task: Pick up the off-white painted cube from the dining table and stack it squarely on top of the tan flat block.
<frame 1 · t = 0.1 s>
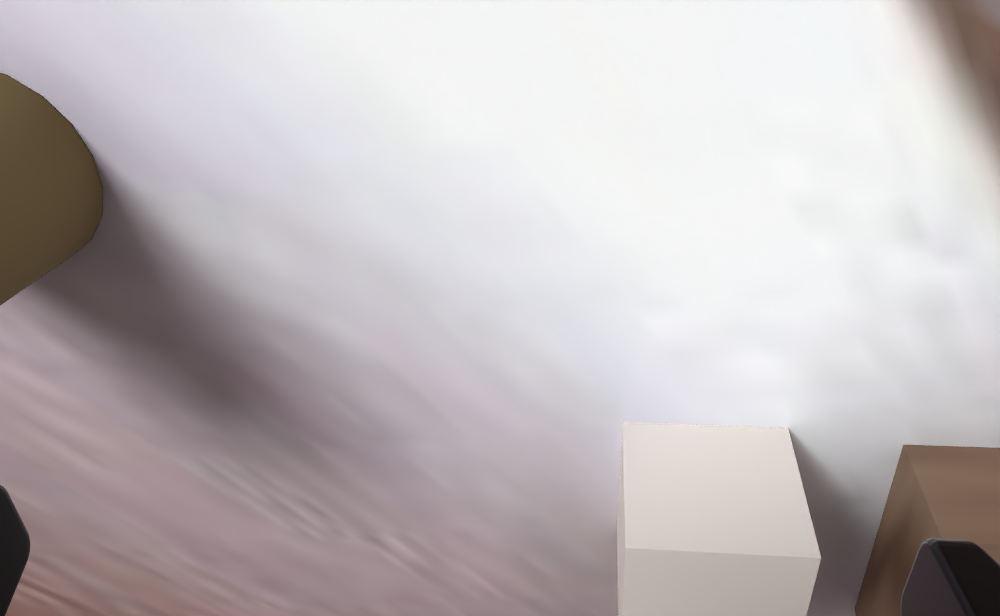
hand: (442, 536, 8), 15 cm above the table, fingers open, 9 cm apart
white cube: (697, 480, 28), on the table
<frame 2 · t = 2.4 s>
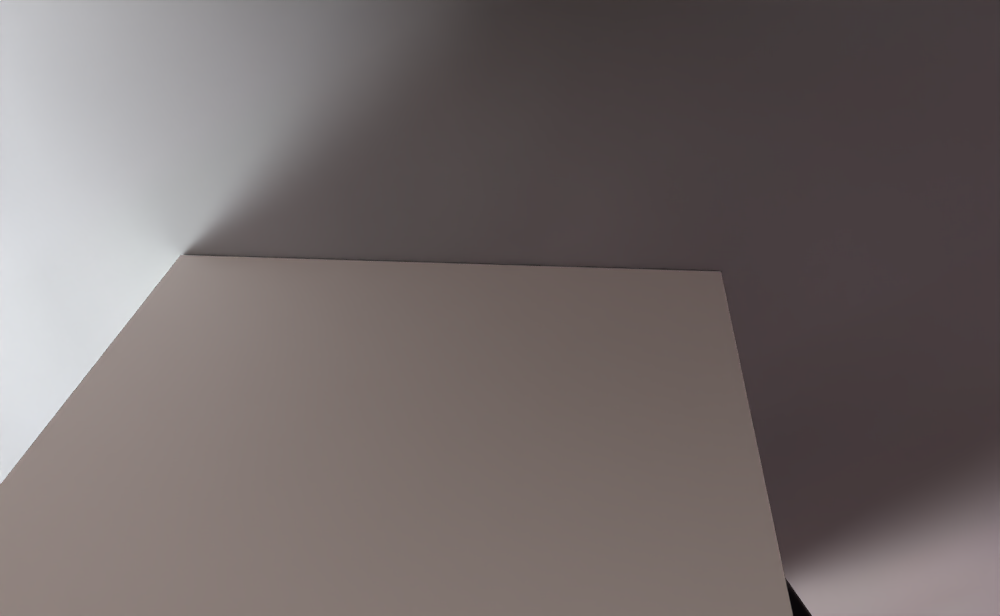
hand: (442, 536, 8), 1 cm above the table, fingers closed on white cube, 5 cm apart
white cube: (457, 460, 9), on the table, touching gripper
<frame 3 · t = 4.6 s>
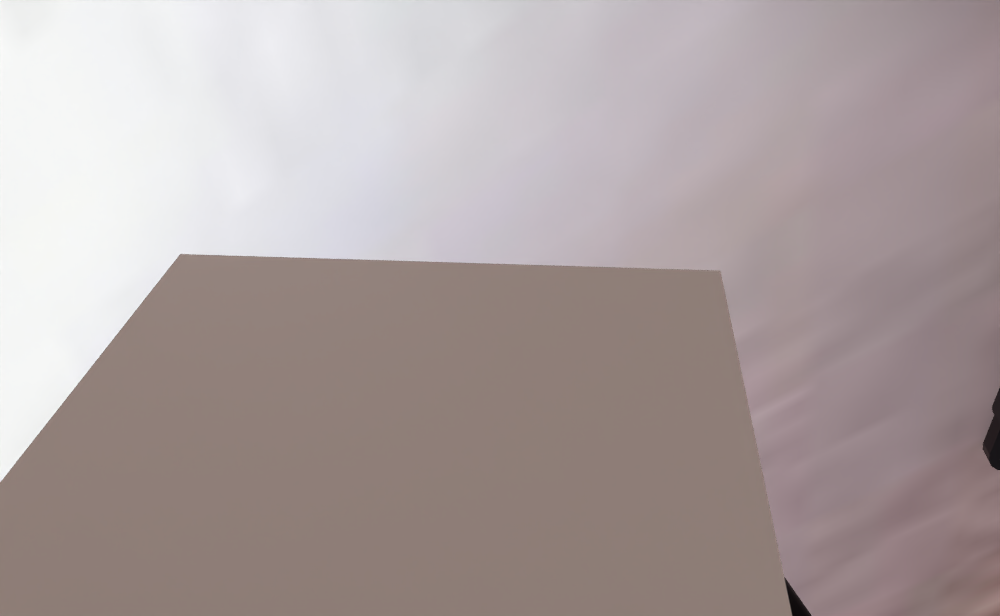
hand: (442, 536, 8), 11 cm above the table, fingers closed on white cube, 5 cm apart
white cube: (456, 459, 9), point 10 cm above the table, touching gripper
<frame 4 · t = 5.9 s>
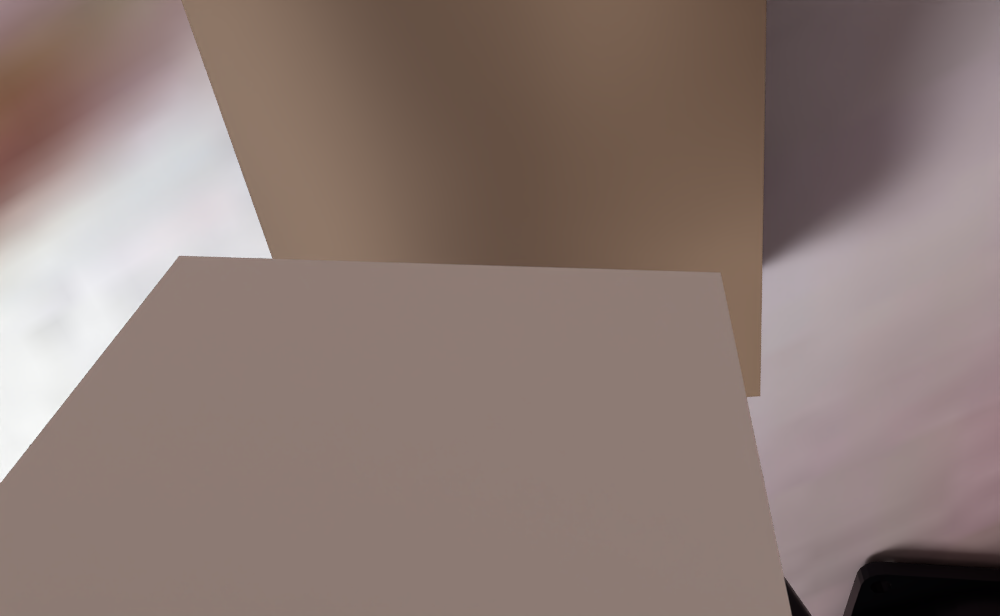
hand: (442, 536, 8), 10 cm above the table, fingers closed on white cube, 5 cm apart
white cube: (456, 461, 9), point 9 cm above the table, touching gripper
tan flat block: (521, 118, 17), on the table
when the fingers open (6 cm above the table, at t = 6.8 s): white cube drops 2 cm, resting on tan flat block.
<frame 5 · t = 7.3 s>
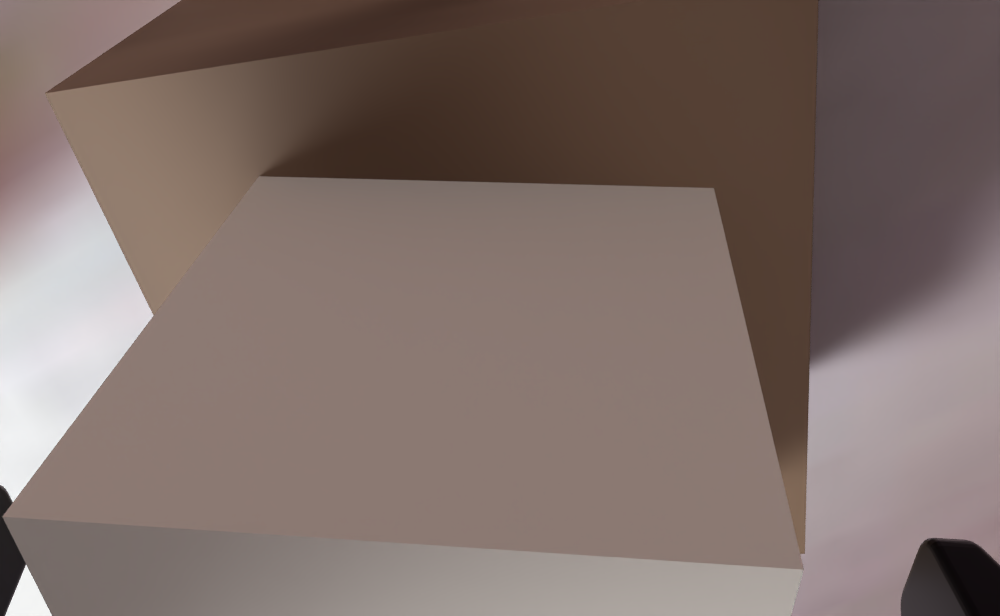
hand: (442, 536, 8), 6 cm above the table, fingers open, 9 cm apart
white cube: (487, 362, 11), point 4 cm above the table, touching tan flat block
tan flat block: (506, 204, 14), on the table, touching white cube
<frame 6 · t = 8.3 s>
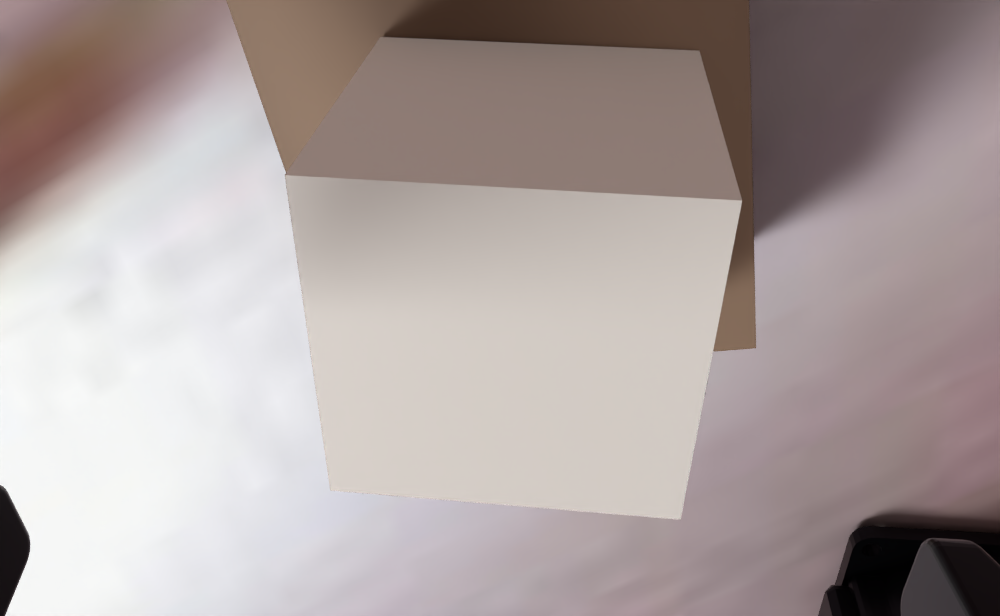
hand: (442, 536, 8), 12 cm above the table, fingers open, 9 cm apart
white cube: (532, 187, 15), point 4 cm above the table
tan flat block: (531, 99, 18), on the table
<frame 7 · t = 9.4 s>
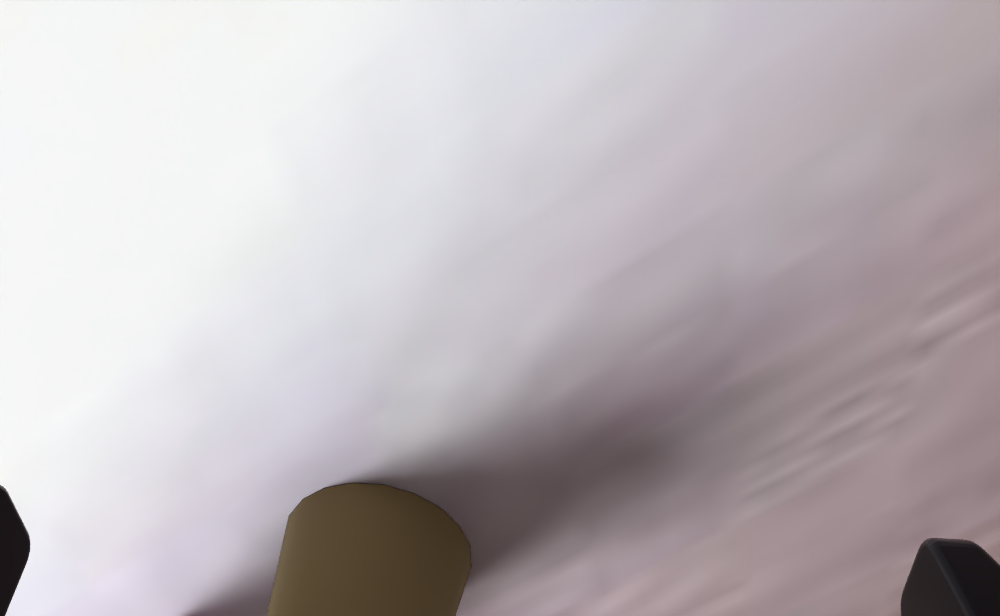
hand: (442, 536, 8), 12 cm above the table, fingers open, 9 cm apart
olive drink cup: (379, 545, 27), on the table
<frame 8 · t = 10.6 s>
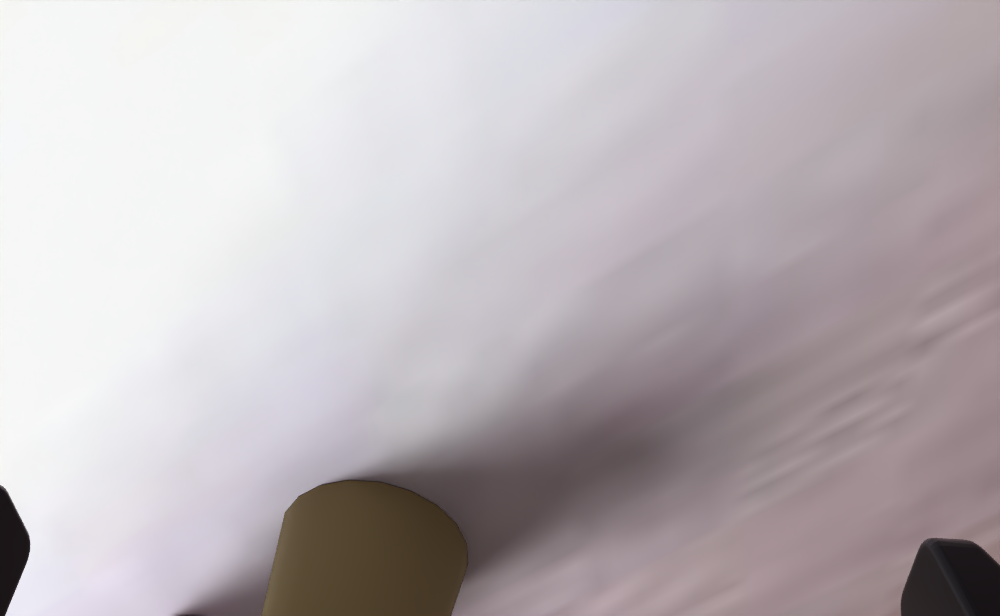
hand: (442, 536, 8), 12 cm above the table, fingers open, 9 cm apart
olive drink cup: (375, 542, 27), on the table
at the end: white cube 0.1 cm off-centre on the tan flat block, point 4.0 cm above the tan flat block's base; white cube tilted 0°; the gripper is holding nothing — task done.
